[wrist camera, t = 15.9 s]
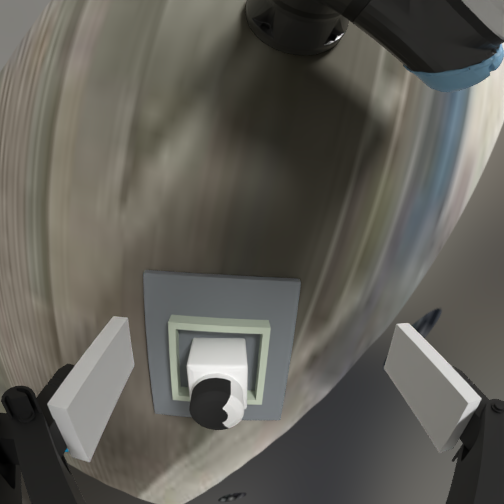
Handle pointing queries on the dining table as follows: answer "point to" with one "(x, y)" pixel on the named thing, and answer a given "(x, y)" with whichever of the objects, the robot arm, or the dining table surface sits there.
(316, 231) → the dining table surface
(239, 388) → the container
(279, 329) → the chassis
